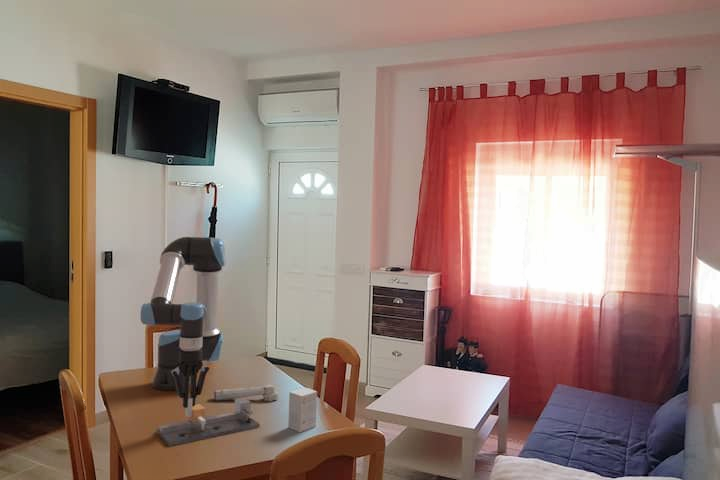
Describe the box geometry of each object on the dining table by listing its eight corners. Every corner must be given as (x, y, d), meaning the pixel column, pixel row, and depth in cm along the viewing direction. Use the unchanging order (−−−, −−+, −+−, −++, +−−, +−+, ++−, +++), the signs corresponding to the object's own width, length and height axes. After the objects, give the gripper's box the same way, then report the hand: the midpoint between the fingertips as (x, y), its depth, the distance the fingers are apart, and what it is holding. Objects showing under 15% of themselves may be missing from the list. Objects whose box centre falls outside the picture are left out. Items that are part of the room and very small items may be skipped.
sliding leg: (187, 422, 194) (188, 405, 194) (198, 420, 197) (199, 404, 196) (197, 431, 187) (198, 414, 187) (209, 429, 189) (209, 412, 189)
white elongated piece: (215, 388, 226) (277, 380, 229) (216, 404, 226) (278, 396, 230) (213, 392, 221) (277, 384, 224) (215, 409, 221) (278, 400, 224)
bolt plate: (156, 432, 188) (156, 412, 188) (243, 415, 208) (244, 397, 207) (168, 446, 178) (169, 425, 178) (259, 427, 197) (260, 408, 197)
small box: (303, 421, 204) (305, 386, 204) (316, 426, 200) (317, 391, 200) (287, 427, 198) (289, 391, 198) (299, 432, 194) (301, 396, 194)
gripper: (175, 353, 184) (173, 423, 185) (213, 348, 192) (210, 416, 193) (168, 348, 190) (165, 416, 191) (205, 344, 198) (202, 409, 199)
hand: (188, 416), depth 192 cm, fingers closed
